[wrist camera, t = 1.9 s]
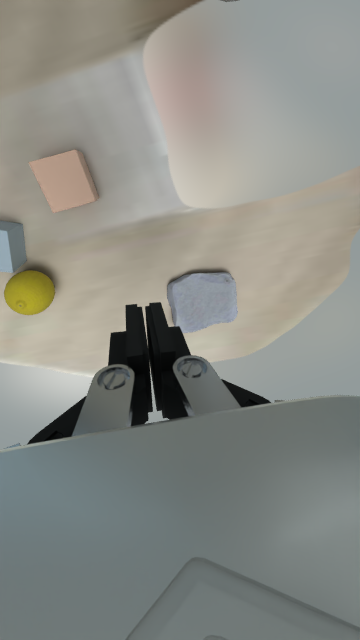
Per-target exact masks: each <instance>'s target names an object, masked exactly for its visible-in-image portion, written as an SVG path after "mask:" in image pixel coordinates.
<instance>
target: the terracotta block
mask: <svg viewBox="0 0 360 640" xmlns="http://www.w3.org/2000/svg"><path fill="white" fill-rule="evenodd" d="M29 164H30V166H31V169H32V171H33V173H34V175H35V177H36V179H37V181H38V183H39V185H40V187H41V189H42V191H43V193H44V195H45V197H46V199H47V201H48V203H49V205H50V207H51V209H52V212H53V213H56V212H59V211H63V210H66V209H70V208H73V207H77V206H80V205H84V204H87V203H91V202H94V201H96V200H98V199H99V196H98V193H97V191H96V188H95V185H94V183H93V180H92V177H91V175H90V172H89V170H88V167H87V164H86V162H85V159H84V156H83V154H82V153H81V152H79V151H77V150H76V149H75V150H72V151H68V152H64V153H61V154H57V155H53V156H50V157H46V158H42V159H39V160H35V161H31V162H29Z"/></svg>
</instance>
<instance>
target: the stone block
mask: <svg viewBox="0 0 360 640" xmlns="http://www.w3.org/2000/svg"><path fill="white" fill-rule="evenodd" d="M236 296H237V294H236V284H235V281H234V279H233V278H232V277H231V274H230V273H226V272H221V273H194V274H190V275H183V276H182V277H180V278H178V279H176V280H175V281H173V282H171V283H169V285H168V286H167V299H168V301H169V304H170V306H171V308H172V316H173V323H174V326H180V328H181V331H182V333H187V332H194V331H197V330H201V329H203V328H206V327H208V326H210V325H213V324H218V323H221V322H222V323H224V322H227V323H228V322H232V321H233V320H234V319H235V318H236V316H237V313H238V311H237V299H236Z"/></svg>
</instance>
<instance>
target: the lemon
mask: <svg viewBox="0 0 360 640" xmlns="http://www.w3.org/2000/svg"><path fill="white" fill-rule="evenodd" d="M54 295H55V289H54V285H53V283H52V281H51V280H50V279H49V278H48V277H47V276H46V275H44V274H43V273H41V272H38V271H32V270H29V271H23V272H20V273H17V274H16V275H14V276H13V277H12V278H11V279H10V280H9V281H8V283H7V285H6V288H5V291H4V297H5V300H6V303H7V304H8V306H9V307H10V308H11V309H12V310H14V311H15V312H17V313H20V314H24V315H33V314H38V313H40V312H42V311H44V310H45V309H46V308H47V307H48V306H49V305H50V304H51V303H52V301H53V299H54Z"/></svg>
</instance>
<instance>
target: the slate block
mask: <svg viewBox="0 0 360 640" xmlns="http://www.w3.org/2000/svg"><path fill="white" fill-rule="evenodd" d="M26 261H27V259H26V250H25V241H24V232H23V224H19V223H13V222H6V221H0V271H1V272H11V273H13V272H15V271H16V270H17V269H18V268H19V267H20V266H21V265H23V264H24V263H25V262H26Z"/></svg>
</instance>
